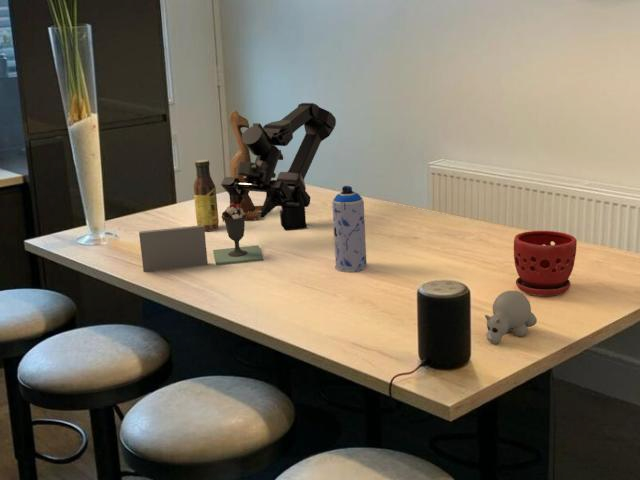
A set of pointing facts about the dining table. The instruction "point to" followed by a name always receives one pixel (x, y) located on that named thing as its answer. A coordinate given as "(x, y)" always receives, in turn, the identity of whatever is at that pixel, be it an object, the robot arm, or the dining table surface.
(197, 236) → the partition board
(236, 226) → the sundae
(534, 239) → the plant pot
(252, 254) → the rubber mat
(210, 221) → the sauce bottle
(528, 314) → the chubby cartoon animal
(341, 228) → the aerosol can
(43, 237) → the dining table surface
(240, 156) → the bird sculpture
